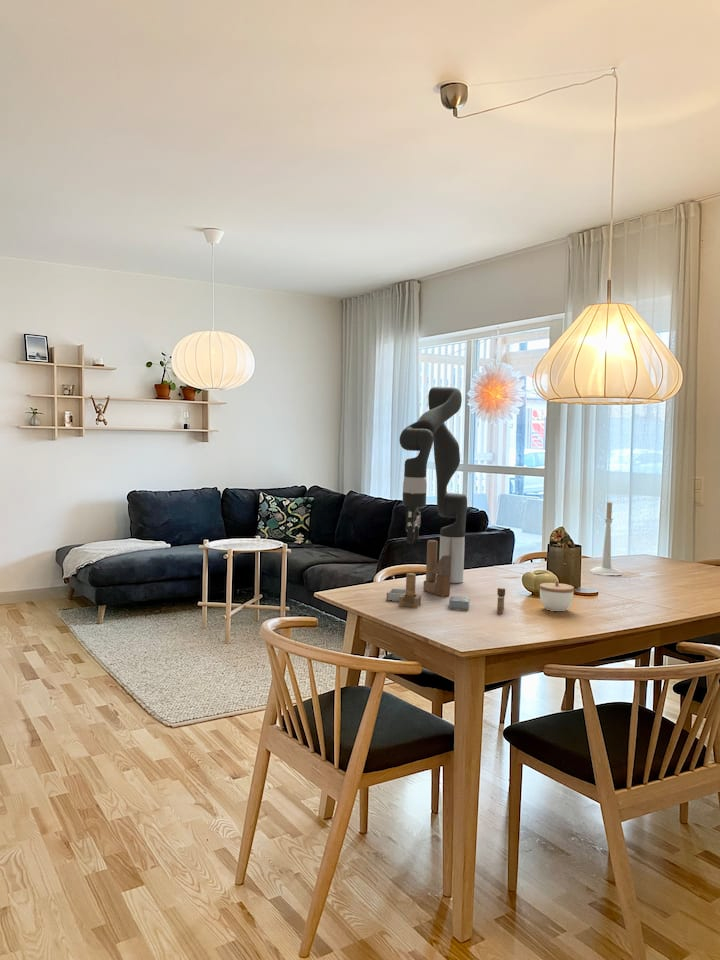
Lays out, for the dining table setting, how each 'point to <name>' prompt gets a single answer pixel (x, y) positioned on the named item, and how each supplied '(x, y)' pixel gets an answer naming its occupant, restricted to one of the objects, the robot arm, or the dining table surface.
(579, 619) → the dining table surface
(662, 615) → the dining table surface
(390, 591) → the tray
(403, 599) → the socket block
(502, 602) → the block
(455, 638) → the dining table surface
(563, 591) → the lidded jar
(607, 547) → the candlestick
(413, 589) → the dowel
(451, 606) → the grey rectangular block
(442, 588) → the tan angled wooden part
